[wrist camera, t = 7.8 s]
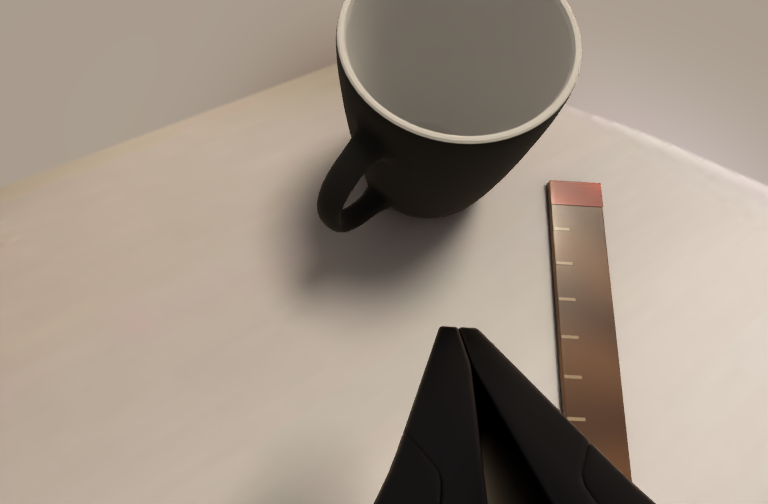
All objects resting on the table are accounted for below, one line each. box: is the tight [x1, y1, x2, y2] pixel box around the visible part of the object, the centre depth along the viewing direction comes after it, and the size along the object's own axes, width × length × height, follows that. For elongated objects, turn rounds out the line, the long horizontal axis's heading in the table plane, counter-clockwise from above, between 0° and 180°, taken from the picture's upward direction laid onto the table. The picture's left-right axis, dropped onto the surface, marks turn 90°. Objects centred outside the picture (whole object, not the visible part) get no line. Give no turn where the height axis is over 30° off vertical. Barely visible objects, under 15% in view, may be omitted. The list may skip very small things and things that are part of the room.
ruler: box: [547, 180, 632, 482], centre depth 22 cm, size 16×3×1 cm, turn 177°
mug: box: [317, 0, 582, 232], centre depth 19 cm, size 12×9×10 cm
